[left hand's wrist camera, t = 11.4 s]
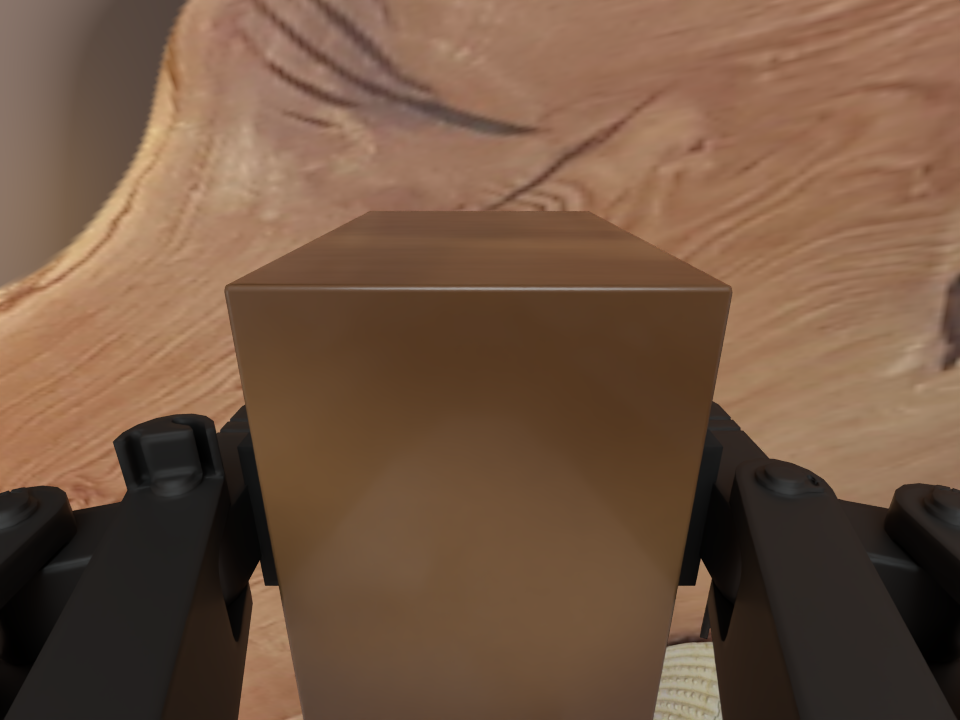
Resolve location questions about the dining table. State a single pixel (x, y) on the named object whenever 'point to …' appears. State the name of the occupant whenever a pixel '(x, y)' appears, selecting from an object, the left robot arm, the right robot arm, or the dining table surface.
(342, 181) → the dining table surface
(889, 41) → the dining table surface
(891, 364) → the dining table surface
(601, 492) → the bar
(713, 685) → the seashell
